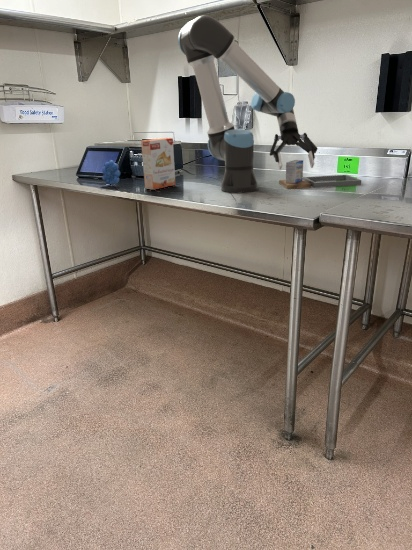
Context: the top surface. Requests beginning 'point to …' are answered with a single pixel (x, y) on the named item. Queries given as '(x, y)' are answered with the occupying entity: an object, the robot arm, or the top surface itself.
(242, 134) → the robot arm
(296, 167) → the medicine box
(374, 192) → the top surface
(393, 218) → the top surface
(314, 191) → the top surface
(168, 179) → the cracker box
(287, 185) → the walnut board
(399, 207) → the top surface
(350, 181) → the bin
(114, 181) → the grapes
